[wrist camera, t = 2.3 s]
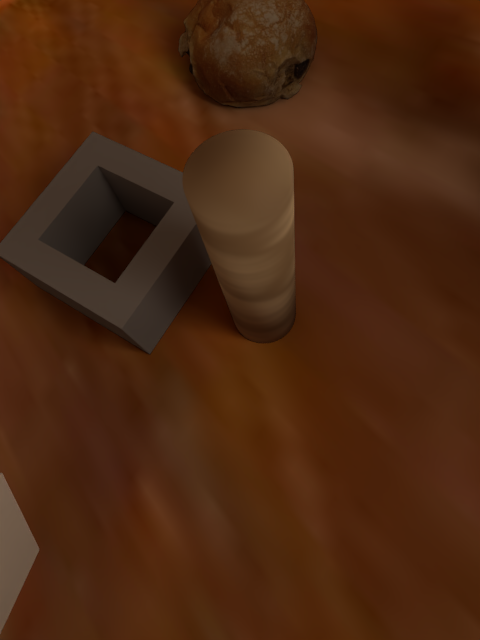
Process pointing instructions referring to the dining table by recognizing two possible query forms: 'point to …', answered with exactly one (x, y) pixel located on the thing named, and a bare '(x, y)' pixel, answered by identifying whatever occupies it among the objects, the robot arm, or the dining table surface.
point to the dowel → (247, 227)
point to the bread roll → (249, 49)
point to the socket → (93, 226)
